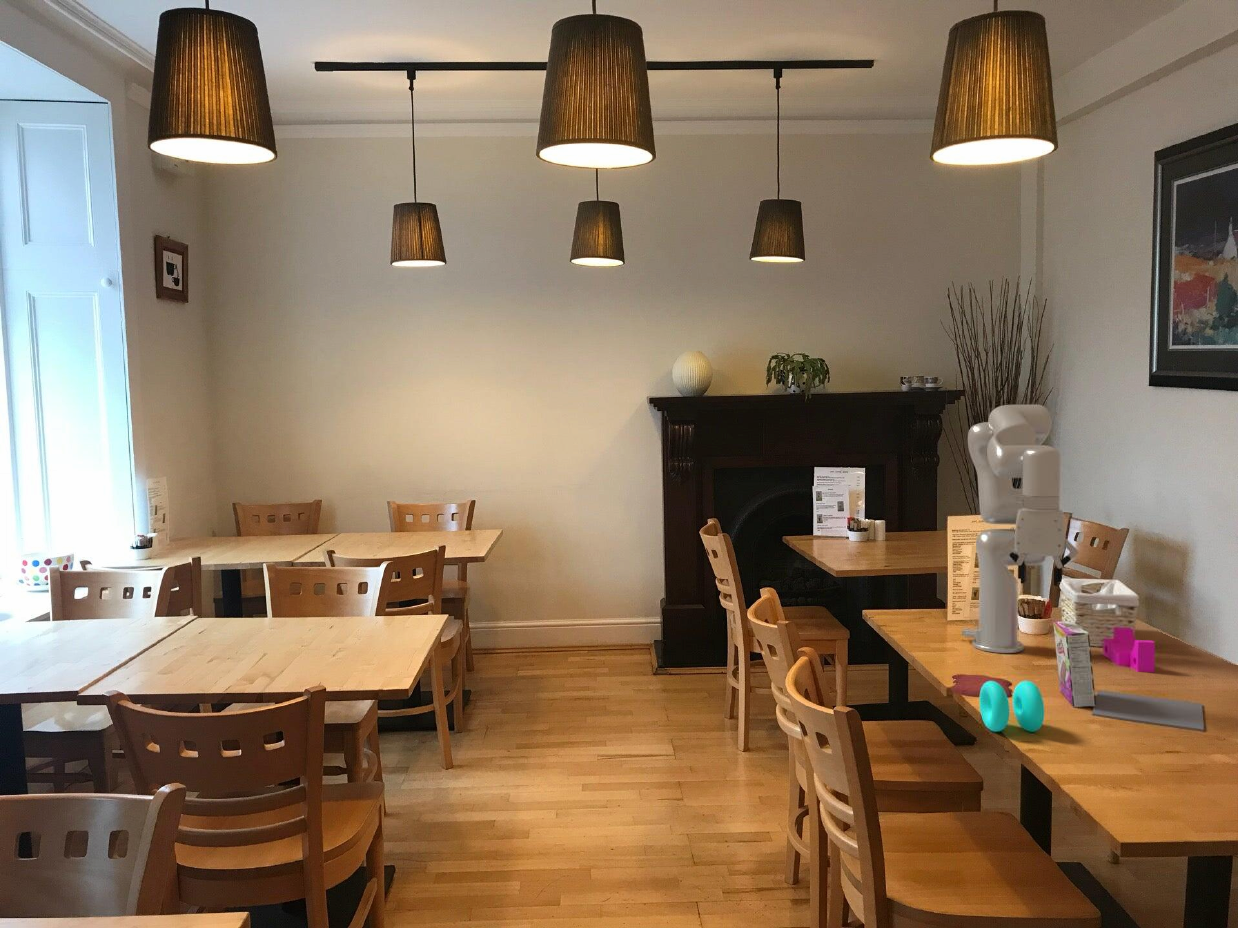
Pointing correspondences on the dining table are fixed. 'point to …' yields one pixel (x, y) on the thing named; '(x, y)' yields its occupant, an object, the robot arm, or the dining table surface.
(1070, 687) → the candy bar box
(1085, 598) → the storage basket
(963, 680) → the patty
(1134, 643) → the toy block
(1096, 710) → the mat
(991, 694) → the donuts
